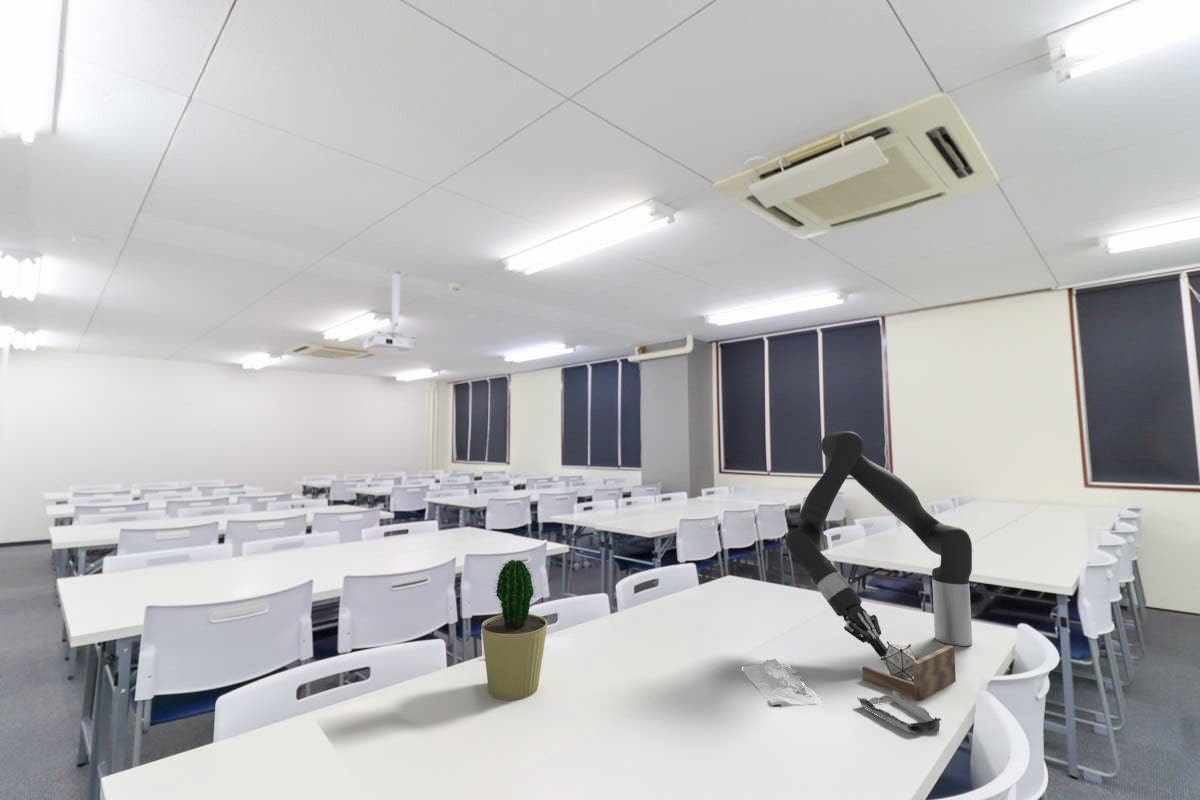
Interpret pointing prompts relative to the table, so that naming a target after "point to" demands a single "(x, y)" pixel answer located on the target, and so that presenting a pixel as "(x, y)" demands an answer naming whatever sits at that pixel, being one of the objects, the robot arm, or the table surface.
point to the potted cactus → (514, 637)
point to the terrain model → (780, 684)
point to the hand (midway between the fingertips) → (885, 654)
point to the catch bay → (919, 675)
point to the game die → (899, 660)
